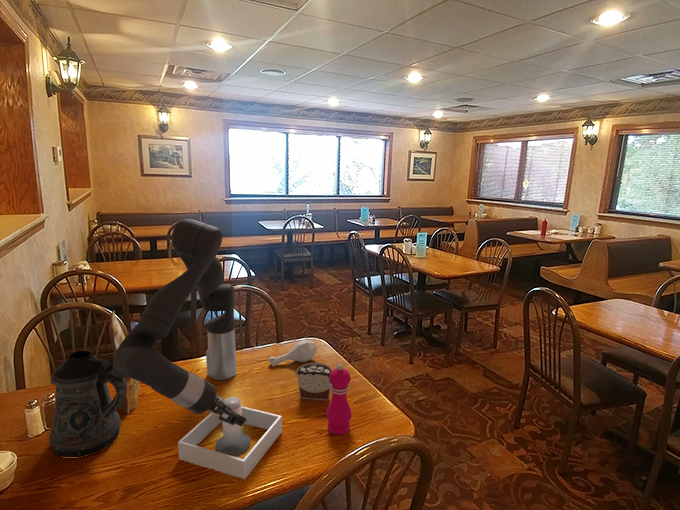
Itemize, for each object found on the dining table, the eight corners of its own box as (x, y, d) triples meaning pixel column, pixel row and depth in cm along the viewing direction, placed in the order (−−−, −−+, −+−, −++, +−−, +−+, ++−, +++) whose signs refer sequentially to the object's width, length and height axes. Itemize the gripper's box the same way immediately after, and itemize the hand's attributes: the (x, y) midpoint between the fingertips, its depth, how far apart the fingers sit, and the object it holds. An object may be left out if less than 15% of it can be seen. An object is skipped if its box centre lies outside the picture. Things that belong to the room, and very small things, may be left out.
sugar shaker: (219, 437, 107) (217, 404, 105) (230, 426, 112) (228, 395, 110) (235, 441, 106) (234, 409, 104) (246, 430, 110) (245, 398, 108)
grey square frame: (179, 459, 104) (178, 442, 103) (224, 416, 122) (223, 401, 121) (244, 479, 98) (244, 461, 97) (281, 431, 116) (281, 416, 115)
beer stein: (58, 428, 115) (46, 345, 110) (135, 413, 123) (127, 335, 117) (43, 467, 100) (28, 374, 95) (131, 447, 108) (122, 360, 103)
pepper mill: (354, 423, 120) (356, 360, 116) (346, 438, 113) (348, 372, 109) (331, 418, 122) (332, 356, 118) (322, 432, 116) (323, 367, 111)
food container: (335, 390, 137) (336, 363, 135) (333, 400, 131) (333, 372, 129) (299, 387, 138) (299, 360, 136) (295, 397, 132) (295, 369, 130)
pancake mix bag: (110, 419, 119) (100, 330, 113) (119, 386, 137) (111, 307, 131) (136, 415, 122) (127, 327, 116) (142, 383, 139) (134, 305, 133)
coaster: (208, 451, 107) (208, 449, 107) (228, 431, 115) (228, 429, 115) (238, 460, 104) (238, 458, 104) (256, 438, 113) (256, 436, 112)
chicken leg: (268, 361, 158) (265, 347, 153) (311, 346, 164) (310, 332, 159) (274, 378, 152) (271, 364, 147) (319, 362, 158) (318, 348, 153)
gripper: (214, 390, 95) (260, 417, 105) (190, 367, 106) (235, 393, 116) (192, 419, 93) (242, 444, 103) (171, 392, 103) (218, 417, 114)
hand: (238, 417), depth 109 cm, fingers closed on sugar shaker, 5 cm apart
